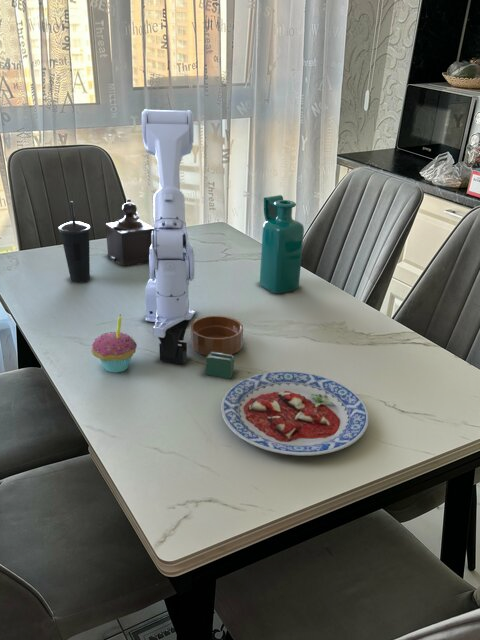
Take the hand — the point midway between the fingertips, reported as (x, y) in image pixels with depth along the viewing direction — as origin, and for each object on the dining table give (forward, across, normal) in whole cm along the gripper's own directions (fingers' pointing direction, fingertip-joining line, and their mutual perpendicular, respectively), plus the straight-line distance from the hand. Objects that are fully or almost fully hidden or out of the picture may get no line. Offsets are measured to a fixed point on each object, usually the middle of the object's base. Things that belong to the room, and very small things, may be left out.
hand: (173, 353), depth 122 cm
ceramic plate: (+2, -13, -27) cm, 30 cm away
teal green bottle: (+2, +46, -12) cm, 48 cm away
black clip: (+1, 0, 0) cm, 1 cm away
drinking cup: (+2, +33, +38) cm, 50 cm away
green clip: (+2, -2, -10) cm, 11 cm away
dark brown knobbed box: (+2, +50, +30) cm, 58 cm away
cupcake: (+2, -6, +10) cm, 12 cm away
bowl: (+2, +9, -6) cm, 11 cm away
